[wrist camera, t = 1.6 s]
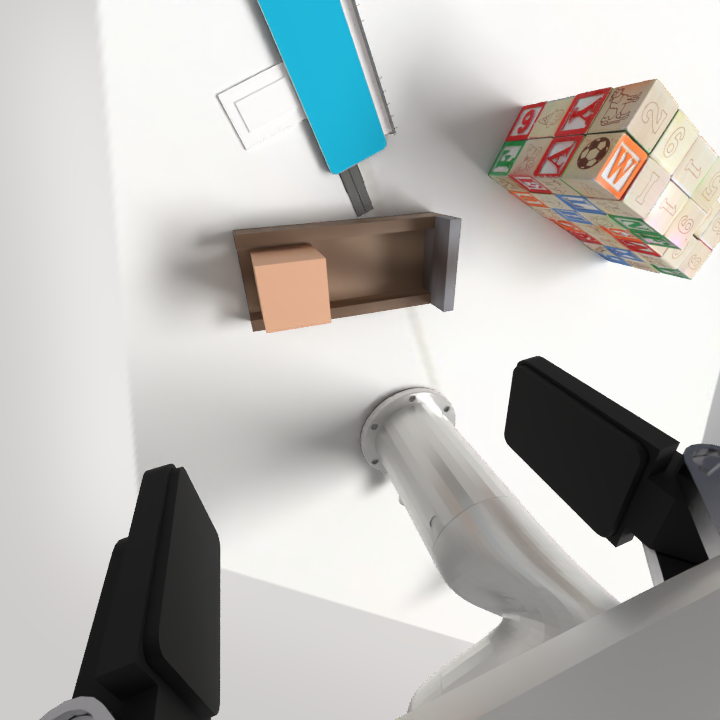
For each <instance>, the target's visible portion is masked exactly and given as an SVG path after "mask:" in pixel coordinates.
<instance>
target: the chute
mask: <svg viewBox="0 0 720 720" xmlns="http://www.w3.org/2000/svg"><path fill="white" fill-rule="evenodd" d="M460 228H461V218H456V217H451V216H447V215H442V214H438V213H433V212H430V213H419V214H408V215H397V216H385V217H374V218H363V219H352V220H341V221H330V222H318V223H307V224H296V225H285V226H274V227H263V228H251V229H240V230H233V235H234V240H235V245H236V249H237V253H238V258H239V263H240V268H241V272H242V277H243V282H244V287H245V292H246V297H247V302H248V307H249V312H250V318H251V324H252V329H253V332H254V331H261V330H266V329H265V325H264V321H263V316H262V312H261V308H260V302H259V297H258V292H257V286H256V281H255V275H254V270H253V265H252V259H251V254H250V250H251V249H260V248H270V247H279V246H289V245H299V244H308V243H310V244H311V245H312V246H313V247H314V248H315V249H316V250H317V251H318V252H320V253H321V254H322V255H323V256H324V257H325V258H326V268H327V279H328V291H329V302H330V314H331V319H336V318H342V317H348V316H354V315H361V314H367V313H373V312H379V311H386V310H392V309H398V308H404V307H411V306H417V305H423V304H429V303H431V304H433V305H434V306H436V307H437V308H439V309H440V310H442V311H443V312H446V311H452V310H453V306H454V295H455V284H456V273H457V261H458V250H459V239H460Z"/></svg>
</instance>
